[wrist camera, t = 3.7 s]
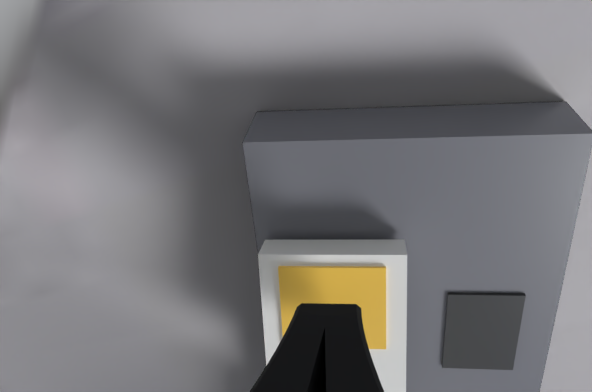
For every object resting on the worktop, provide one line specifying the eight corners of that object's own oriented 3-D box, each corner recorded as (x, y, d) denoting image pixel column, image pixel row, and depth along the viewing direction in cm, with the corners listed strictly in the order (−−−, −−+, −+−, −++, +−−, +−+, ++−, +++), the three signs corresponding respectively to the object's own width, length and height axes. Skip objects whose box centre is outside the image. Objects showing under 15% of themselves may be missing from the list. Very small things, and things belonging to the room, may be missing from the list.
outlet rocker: (402, 464, 16) (405, 494, 15) (280, 457, 16) (274, 486, 15) (404, 239, 14) (407, 256, 13) (265, 239, 14) (257, 256, 13)
